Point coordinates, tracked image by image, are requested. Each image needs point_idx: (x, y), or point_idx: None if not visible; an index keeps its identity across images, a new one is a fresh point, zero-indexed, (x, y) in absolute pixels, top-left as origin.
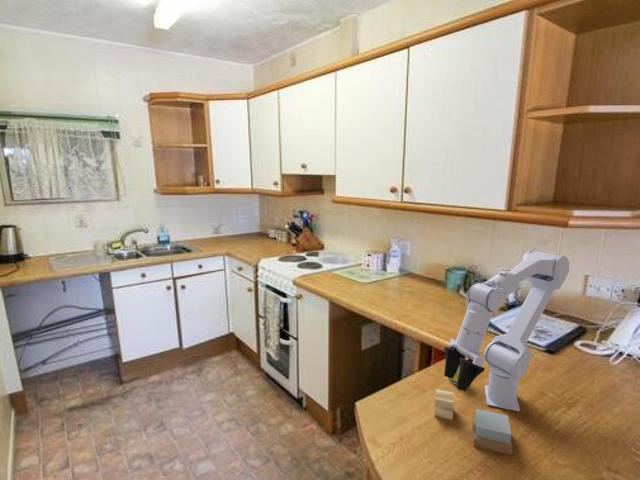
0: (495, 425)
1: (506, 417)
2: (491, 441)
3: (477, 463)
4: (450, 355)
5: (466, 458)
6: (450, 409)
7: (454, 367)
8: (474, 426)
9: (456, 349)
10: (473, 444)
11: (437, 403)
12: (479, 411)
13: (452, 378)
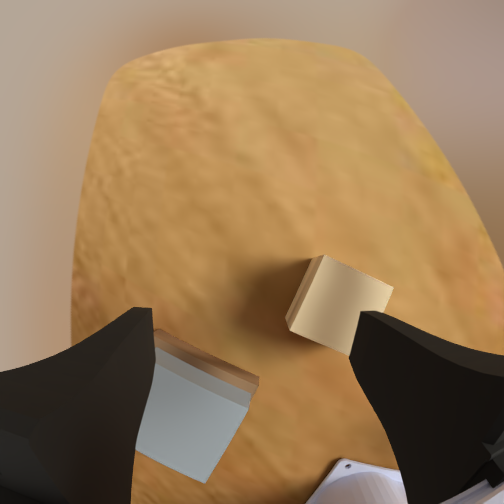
0: (151, 420)
1: (193, 474)
2: None
3: (99, 302)
4: (462, 399)
5: (115, 280)
6: (291, 314)
7: (389, 398)
8: (204, 365)
9: (488, 481)
10: (162, 330)
11: (316, 264)
12: (230, 411)
13: (349, 358)
